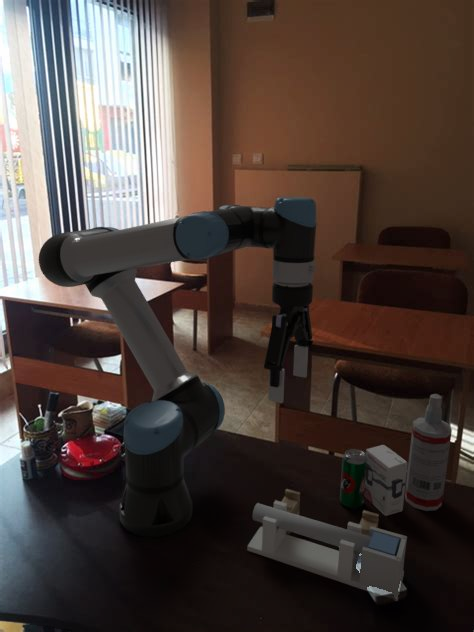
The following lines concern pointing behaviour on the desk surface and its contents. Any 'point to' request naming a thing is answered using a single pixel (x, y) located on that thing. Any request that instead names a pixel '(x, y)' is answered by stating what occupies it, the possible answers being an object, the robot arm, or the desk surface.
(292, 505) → the clamp blocks
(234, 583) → the desk surface
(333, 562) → the clip rail
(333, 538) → the grey rod with block
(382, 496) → the ink box
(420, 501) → the white nozzle bottle
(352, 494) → the soda can
